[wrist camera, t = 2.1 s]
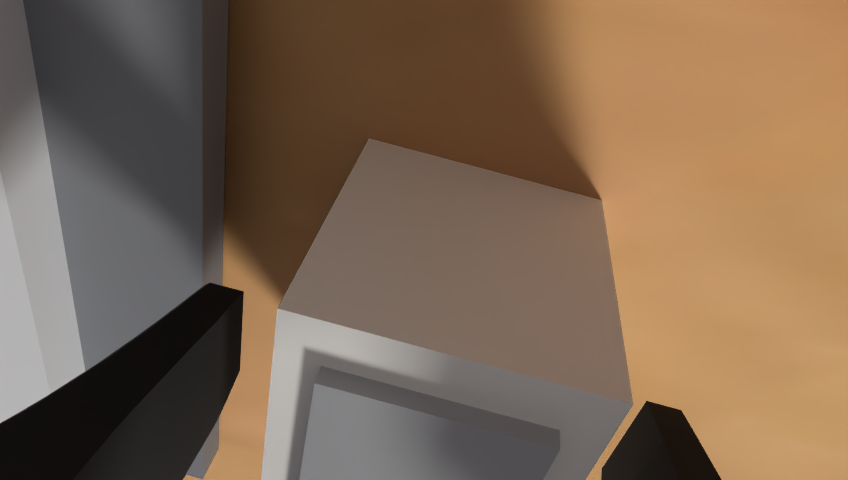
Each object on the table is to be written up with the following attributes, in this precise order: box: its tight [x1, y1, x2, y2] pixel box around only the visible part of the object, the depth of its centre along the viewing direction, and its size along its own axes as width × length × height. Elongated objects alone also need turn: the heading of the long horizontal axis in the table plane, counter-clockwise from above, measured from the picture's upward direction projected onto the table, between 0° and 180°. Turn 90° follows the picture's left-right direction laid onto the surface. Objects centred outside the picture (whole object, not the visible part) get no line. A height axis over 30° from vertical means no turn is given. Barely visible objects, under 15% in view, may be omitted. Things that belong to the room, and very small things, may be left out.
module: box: [261, 138, 633, 480], centre depth 11 cm, size 6×4×5 cm
